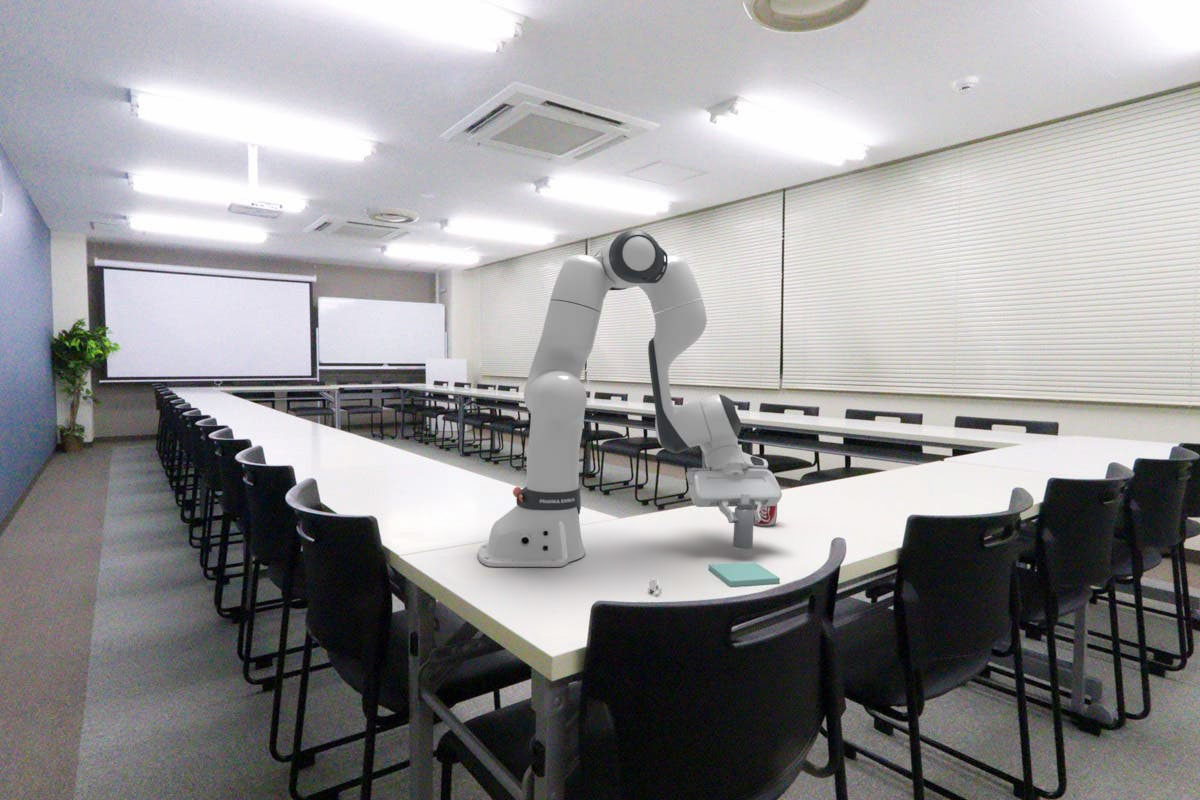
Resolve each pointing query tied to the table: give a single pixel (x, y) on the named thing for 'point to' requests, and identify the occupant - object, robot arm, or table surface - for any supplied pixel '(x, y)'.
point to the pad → (743, 574)
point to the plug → (744, 524)
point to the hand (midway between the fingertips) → (745, 521)
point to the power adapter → (655, 587)
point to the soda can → (767, 515)
